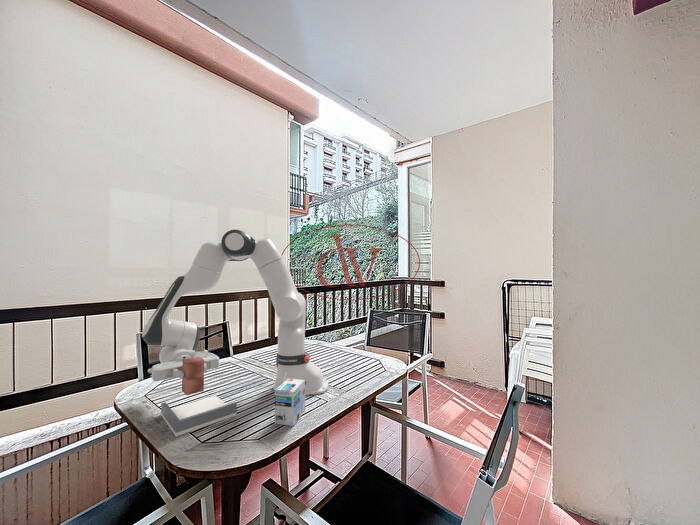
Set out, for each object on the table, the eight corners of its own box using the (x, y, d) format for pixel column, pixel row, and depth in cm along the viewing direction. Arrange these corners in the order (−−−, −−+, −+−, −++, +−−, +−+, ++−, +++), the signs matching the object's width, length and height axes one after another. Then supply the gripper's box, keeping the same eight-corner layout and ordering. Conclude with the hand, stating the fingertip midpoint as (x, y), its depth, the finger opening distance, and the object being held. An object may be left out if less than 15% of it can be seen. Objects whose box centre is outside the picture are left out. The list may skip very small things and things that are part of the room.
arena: (216, 398, 112) (216, 387, 112) (236, 415, 99) (236, 403, 100) (160, 414, 100) (160, 402, 100) (175, 436, 87) (176, 422, 87)
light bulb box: (293, 426, 92) (294, 391, 93) (273, 424, 94) (273, 389, 94) (305, 410, 103) (305, 379, 103) (287, 408, 104) (287, 377, 104)
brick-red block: (198, 386, 100) (199, 356, 100) (203, 391, 96) (204, 359, 96) (181, 390, 96) (182, 359, 97) (186, 395, 93) (187, 363, 93)
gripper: (146, 360, 98) (156, 370, 89) (211, 348, 113) (225, 356, 103) (146, 379, 98) (155, 391, 88) (210, 365, 113) (225, 375, 103)
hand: (194, 372), depth 96 cm, fingers closed on brick-red block, 5 cm apart
